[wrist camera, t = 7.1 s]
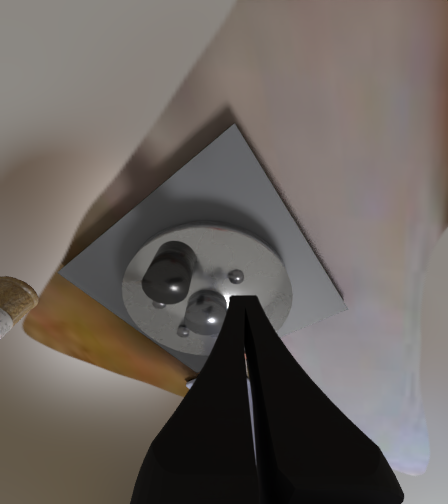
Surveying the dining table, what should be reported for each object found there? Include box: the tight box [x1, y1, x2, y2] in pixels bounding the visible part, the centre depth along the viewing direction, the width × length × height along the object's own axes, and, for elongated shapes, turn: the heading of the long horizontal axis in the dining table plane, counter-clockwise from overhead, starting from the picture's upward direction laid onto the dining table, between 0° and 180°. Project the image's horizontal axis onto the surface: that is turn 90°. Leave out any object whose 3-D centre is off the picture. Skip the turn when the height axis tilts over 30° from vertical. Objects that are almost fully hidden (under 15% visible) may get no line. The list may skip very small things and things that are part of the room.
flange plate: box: [122, 221, 293, 359], centre depth 19 cm, size 16×15×5 cm
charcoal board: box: [57, 123, 348, 373], centre depth 21 cm, size 20×20×1 cm
